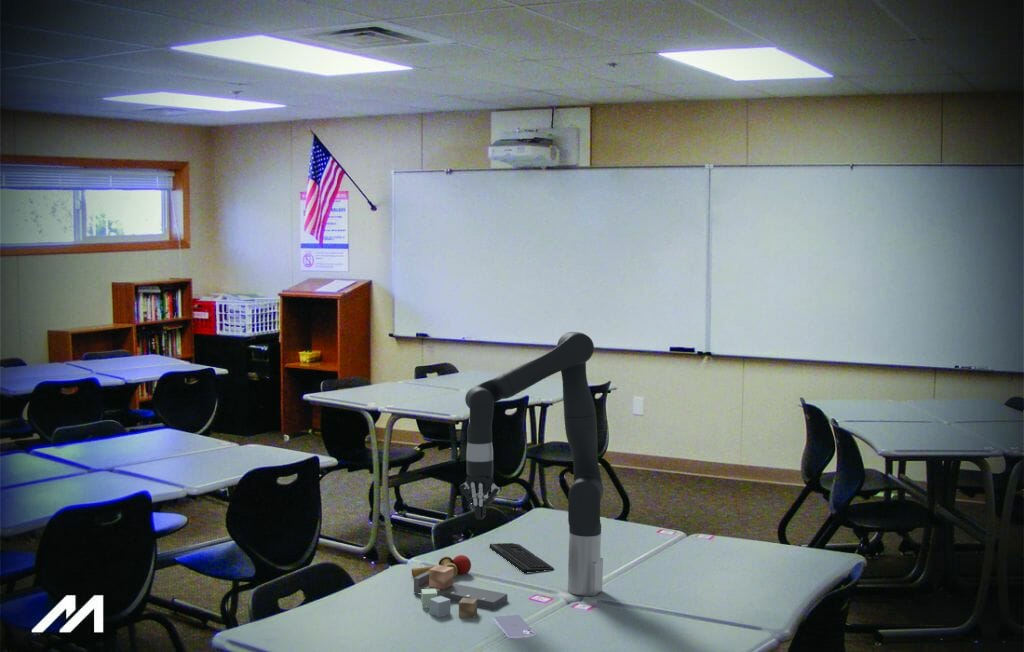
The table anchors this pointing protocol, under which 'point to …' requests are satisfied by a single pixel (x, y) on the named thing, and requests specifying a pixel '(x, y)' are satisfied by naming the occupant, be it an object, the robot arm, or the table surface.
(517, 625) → the mobile phone
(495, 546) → the keyboard
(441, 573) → the slider
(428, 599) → the cube sage
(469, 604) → the cube walnut
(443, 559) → the kendama
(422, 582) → the rail board
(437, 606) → the cube slate
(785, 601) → the table surface
